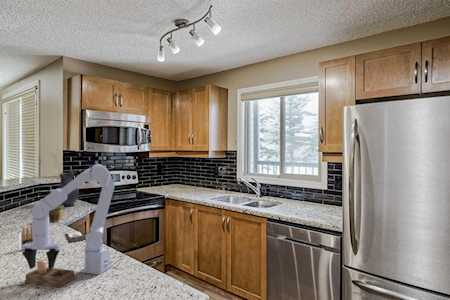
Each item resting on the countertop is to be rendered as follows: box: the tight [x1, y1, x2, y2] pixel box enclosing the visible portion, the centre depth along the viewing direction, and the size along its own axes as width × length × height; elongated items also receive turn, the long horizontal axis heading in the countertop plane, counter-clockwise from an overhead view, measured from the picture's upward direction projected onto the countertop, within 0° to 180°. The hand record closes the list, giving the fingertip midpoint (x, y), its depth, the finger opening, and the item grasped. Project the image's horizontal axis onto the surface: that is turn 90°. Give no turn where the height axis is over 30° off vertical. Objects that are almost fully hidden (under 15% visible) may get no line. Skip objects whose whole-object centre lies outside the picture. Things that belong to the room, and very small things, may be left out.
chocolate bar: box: [65, 230, 86, 244], centre depth 169 cm, size 9×1×18 cm
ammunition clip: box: [21, 224, 33, 252], centre depth 151 cm, size 11×2×12 cm, turn 130°
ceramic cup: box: [49, 205, 65, 224], centre depth 204 cm, size 13×10×10 cm
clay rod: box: [36, 259, 47, 275], centre depth 116 cm, size 3×3×6 cm
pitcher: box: [57, 170, 80, 208], centre depth 256 cm, size 17×21×30 cm
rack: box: [24, 266, 76, 288], centre depth 115 cm, size 16×8×3 cm, turn 75°
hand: (41, 267), depth 116 cm, fingers open, 7 cm apart
